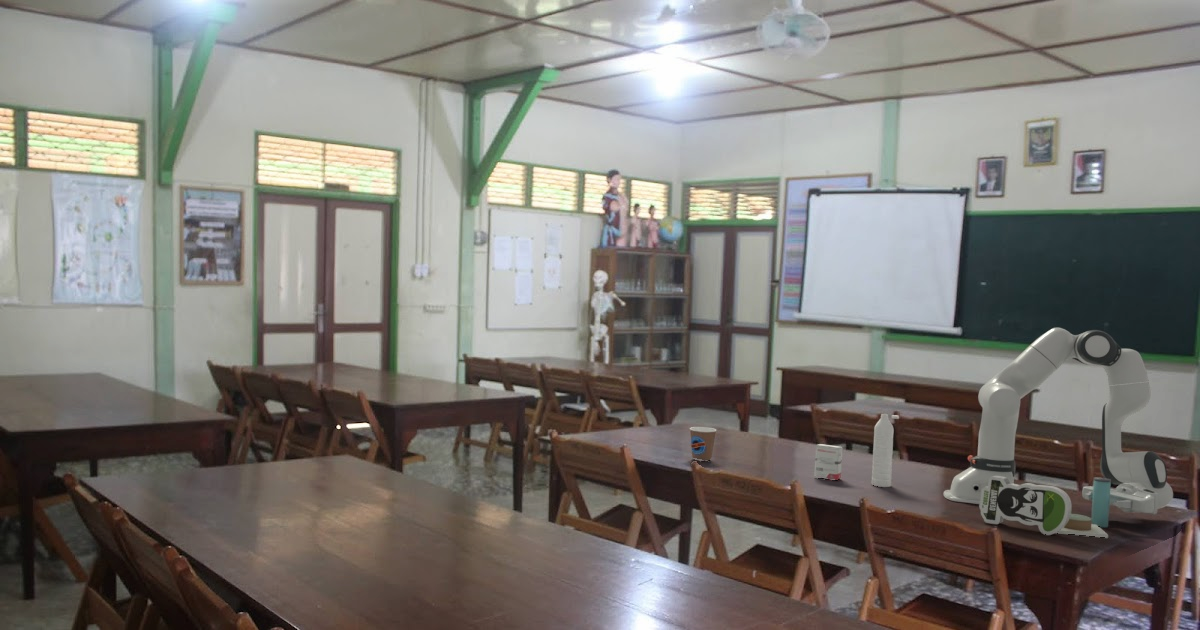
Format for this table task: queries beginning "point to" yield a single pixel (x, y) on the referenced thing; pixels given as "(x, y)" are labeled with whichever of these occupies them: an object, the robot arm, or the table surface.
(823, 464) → the ink box
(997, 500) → the cutout
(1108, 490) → the tube
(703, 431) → the coffee cup
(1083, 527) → the display stand
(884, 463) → the water bottle
